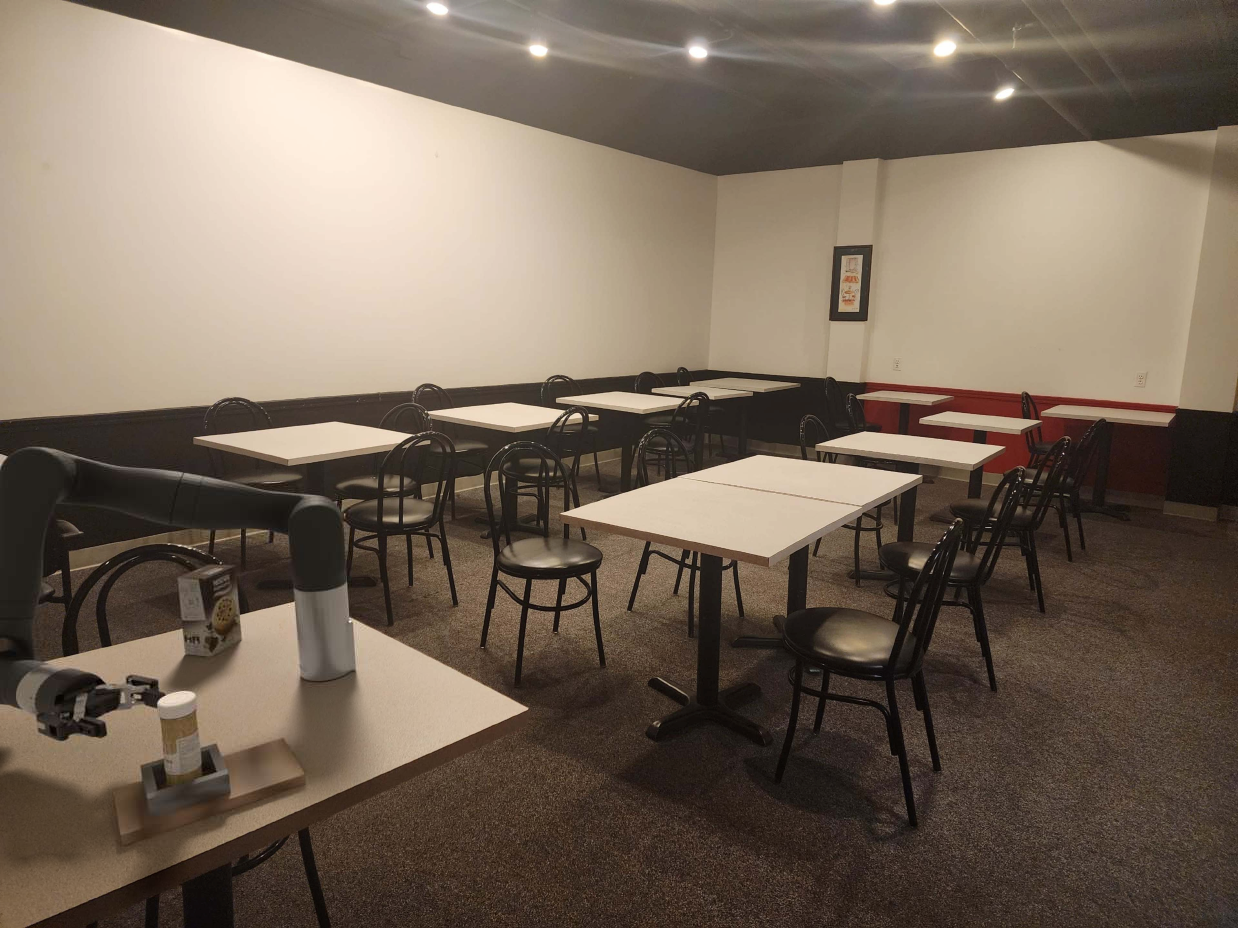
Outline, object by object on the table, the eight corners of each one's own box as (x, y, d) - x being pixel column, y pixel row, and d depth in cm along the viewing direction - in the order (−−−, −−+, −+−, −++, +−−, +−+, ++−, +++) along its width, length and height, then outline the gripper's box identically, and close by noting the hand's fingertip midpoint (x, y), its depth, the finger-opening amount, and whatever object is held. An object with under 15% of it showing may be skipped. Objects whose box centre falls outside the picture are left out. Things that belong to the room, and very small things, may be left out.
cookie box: (212, 657, 148) (204, 579, 145) (183, 654, 150) (175, 576, 147) (243, 639, 157) (236, 564, 154) (216, 636, 158) (209, 562, 156)
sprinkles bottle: (161, 789, 103) (151, 698, 101) (197, 774, 107) (188, 686, 104) (174, 802, 100) (164, 709, 98) (210, 787, 104) (201, 696, 102)
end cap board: (284, 746, 117) (282, 719, 116) (305, 783, 107) (303, 754, 107) (114, 798, 104) (110, 769, 103) (121, 845, 94) (117, 813, 94)
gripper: (2, 691, 104) (78, 714, 98) (106, 651, 117) (179, 669, 111) (10, 740, 106) (85, 766, 100) (111, 695, 119) (184, 716, 113)
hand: (135, 715), depth 105 cm, fingers open, 8 cm apart
